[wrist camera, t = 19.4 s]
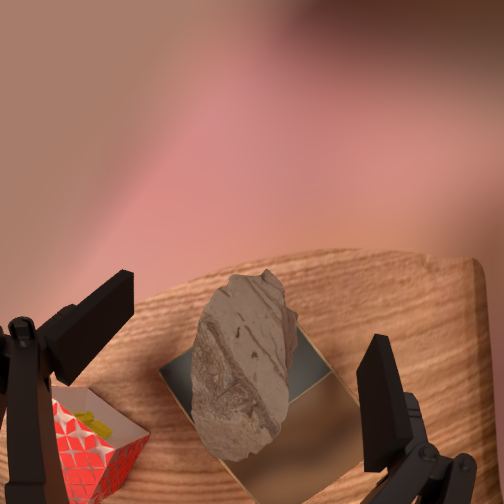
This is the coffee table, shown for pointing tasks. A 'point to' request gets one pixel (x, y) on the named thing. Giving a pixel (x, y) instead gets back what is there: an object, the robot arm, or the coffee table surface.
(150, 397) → the coffee table surface
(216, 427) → the stone
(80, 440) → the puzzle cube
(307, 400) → the board
